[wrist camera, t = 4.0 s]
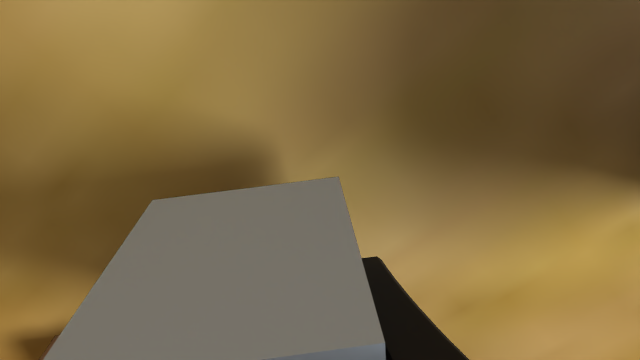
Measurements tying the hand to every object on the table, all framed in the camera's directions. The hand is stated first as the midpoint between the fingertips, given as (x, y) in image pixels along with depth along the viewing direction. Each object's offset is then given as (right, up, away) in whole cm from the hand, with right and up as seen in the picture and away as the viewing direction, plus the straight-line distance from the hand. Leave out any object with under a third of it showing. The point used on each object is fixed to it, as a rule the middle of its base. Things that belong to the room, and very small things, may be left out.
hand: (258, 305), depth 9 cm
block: (0, +1, +1) cm, 2 cm away
